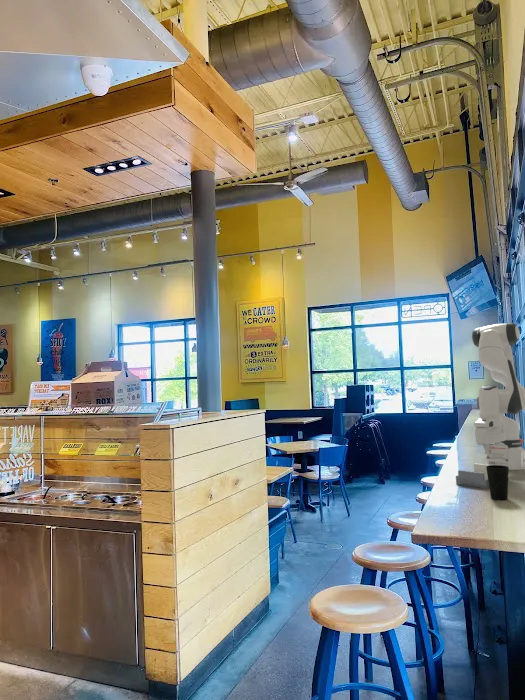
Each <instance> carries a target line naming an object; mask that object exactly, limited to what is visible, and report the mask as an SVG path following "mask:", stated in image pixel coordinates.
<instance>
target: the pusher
mask: <svg viewBox="0 0 525 700" xmlns="http://www.w3.org/2000/svg"><path fill="white" fill-rule="evenodd" d="M486 466H489V465H486V463H485V464H484V463H476V462H475V463H473V471H474V472H479V473H484V478H485V479H487V478H488V475H487V469H486Z"/></svg>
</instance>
